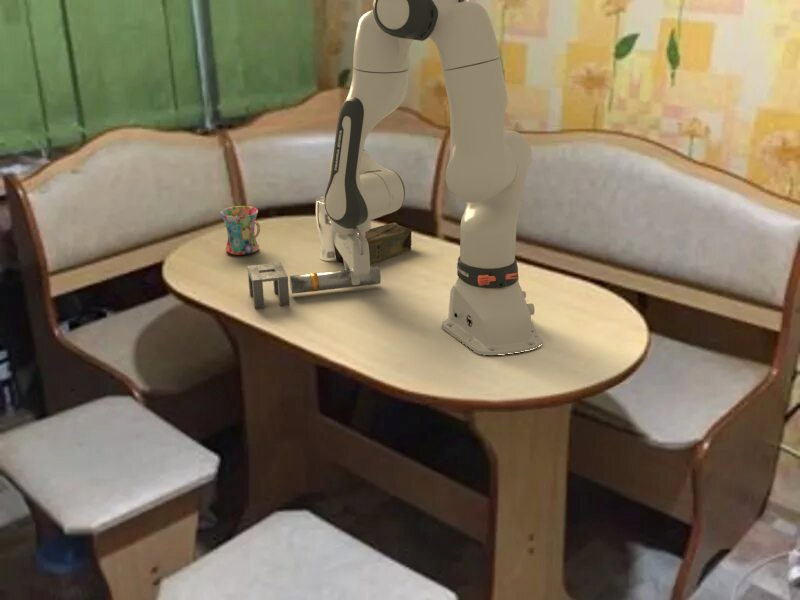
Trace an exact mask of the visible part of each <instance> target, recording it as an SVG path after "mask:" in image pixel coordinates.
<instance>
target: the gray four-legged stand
mask: <svg viewBox="0 0 800 600" xmlns="http://www.w3.org/2000/svg"><path fill="white" fill-rule="evenodd" d="M247 276H248V277H247V278H248V279H247V280H248V290H249V292H248V293H249V296H250V297H253V307H254V310H259V309H265V297H264V296H265V295H264V284H263V283H265V282H273V284H272V285H273V292H274V294H278V304H279V306H280V307H285V306H290V293H289V276H288V274H287V272H286V270H285V269H284V266H283V263H282V262H273V263H272V262H271V263H265V264H263V263H262V264H254V265H247Z"/></svg>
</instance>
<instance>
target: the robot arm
mask: <svg viewBox="0 0 800 600" xmlns="http://www.w3.org/2000/svg"><path fill="white" fill-rule="evenodd" d="M427 39H429V40H431V41H432V42H433V43H434V45H435V46H436V47H437V48H436V49H437V51H438V54H439V59H440V65H441V70H442V74H443V75H442V76H443V80H444V86H445V91H446V96H447V101H448V107H449V118H450V119H449V120H450V123H449V124H450V125H449V126H450V128H449V129H450V138H449V139H450V140H449V141H450V142H449V143H450V144H449V159H448V163H447V167H446V169H445V183H446V186H447V188H448V190H449V191H450V193H451V194H452V195H453V196H454V198H456V199H458V200H459V201H462V202H464V203H466V206H465V209H464V212H463V214H462V217H461V221H460V232H459V233H460V237H459V238H460V239H459V240H460V241H459V243H460V245H459V256H458V258H457V263H456V271H457V272H456V273H457V274H456V275H457V280H456V282H455V283H454V284H453V286H452V287H451V289H450V295H449V305H448V317H447V319H445V320H444V321H442V322H441V328H442V329H443V330H444V331H445V332H446V333H448V335H451V336H452V337H453V338H455V339H456V340H458V342H460V343H461V342H462V343H461V344H463V345H464V344H465V345H466V346H465V345H464V346H465V347H467V346H468V347H469V348H470V349H469V348H468V347H467V348H468V349H469V350H471V349H472V350H473V351H472V350H471V351H472V352H474V353H475V352H476V353H478V354H483V355H482V356H485V354H486V355H498V354H508V353H515V352H521V351H525V350H530V349H533V348H536V347H538V346H539V345H541V344H542V345H543V339H542V338H541V336H540V334H539V332H538V330H537V328H536V327H535V325H534V323H533V322H532V317H531V316H533V315H535V305H534V303H532V302H531V303H527V300H526V297H527V292H526V291H523V290H522V288H521V284H520V283H519V266H518V262H517V261H518V260H517V258H516V244H517V243H516V242H517V227H518V218H519V213H520V209H521V205H522V199H523V196H524V190H525V185H526V179H527V175H528V170H529V167H530V165H531V162H532V159H533V152H532V147H531V144H530V142H529V140H528V139H527V138H526V137H525V136H524V135H523V134H522V133H520V132H518V131H515V130H510V129H509V130H508V129H505V121H506V120H505V116H506V111H507V110H506V109H507V105H508V92H507V87H506V80H505V76H504V71H503V64H502V59H501V54H500V49H499V45H498V40H497V37H496V33H495V30H494V27H493V24H492V21H491V19H490V16H489V14H488V11H487V10H486V8H485V7H484V6H483V5H481V4H479V3H477V2H474V1H465V0H373V2H372V9H371V10H369V11H367V12H365V13H363V14H362V16H361V17H360V18H359V20H358V23H357V27H356V32H355V38H354V45H353V47H354V48H353V58H352V59H353V60H352V61H353V63H352V65H353V66H352V77H351V78H352V79H351V83H350V88H349V91H348V94H347V96H346V99H345V100H344V102H343V103H342V105H341V107H340V110H339V113H338V117H337V118H338V119H337V125H336V131H335V138H334V139H335V140H334V144H333V146H334V147H333V154H332V155H331V159H330V161H329V169H328V171H329V173H328V183H327V186H326V190H325V193H324V196H325V199H324V204H325V209H326V212H327V214H328V216H329V219H330V221H331V230H332V231H333V237H334V243H335V246H336V248H337V250H338V251H339V253H340V254H341V256H342V257H343V261H344V263H343V264H344V270H350V269H351V276H350V278H351V283H352V285H358V284H360V275H364V274H369V272H370V267H371V264H370V257H369V246H368V242H367V240H366V238H365V237H364V236H365V232H367V231H369V230H370V229H372V221H373V220H375V219H378V218H381V217H385V216H387V215H389V214H392V213H395V212H396V211H398V210H400V209H402V208H401V207H402V206H403V205H404V202H405V198H406V188H405V184H404V181H403V179H402V178H401V176H400V174H398V173H397V172H396V171H395V170H393V169H389V168H386V167H384V166H383V165H380V164H379V163H378V162H377V161H375V160H374V159H372V157H371V156H370V155H369V153H368V151H367V150H366V149H364V148H365V142H366V140H367V137H368V135H369V134H370V133H371V131H372V130H373V129H374V127H376V125H378V124H379V123H380V122H382V120H384V119H385V118H386V117H388V116H389V115H390V114H392V113H393V112H395V111H396V110H397V109H398V108H399V107H400V106H401V105H402V103H403V102H404V101H405V99H406V96H407V93H408V92H407V91H408V86H409V79H410V78H409V73H410V72H409V70H410V65H409V64H410V49H411V46H412V43H413V41H419V42H423V41H426V40H427ZM476 353H475V354H476ZM478 354H477V355H478Z"/></svg>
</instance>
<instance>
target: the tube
mask: <svg viewBox="0 0 800 600" xmlns="http://www.w3.org/2000/svg"><path fill="white" fill-rule="evenodd" d="M350 276H351V269H350V270H345V269H342V270H332V271H325V272H312V273H305V274H296V275H294V274H293V275H290V276H289V287H290V292H291V294H293V295H294V294H302V293H313V292H320V291H327V290H328V291H329V290H338V289H346V288H347V289H348V288H353V287H354V288H356V287H363V286H364V287H365V286H373V285H380V284H381V278H382V277H381V276H382V275H381V270H380V268H379V266H370V272H369V274H364V275H360V284H358V285H352V283H351V278H350Z"/></svg>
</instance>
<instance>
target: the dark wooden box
mask: <svg viewBox="0 0 800 600" xmlns="http://www.w3.org/2000/svg"><path fill="white" fill-rule="evenodd" d="M364 237H365V238H366V240H367V242H368V246H369V257H370V265H372V264H375V263H378V262H380V261H383V260H384V261H385V260H387V259H389V258H392V257H396V256H398V254H399V255H400V254H401V253H402V254H404V253H406V252H410V251H411V250H412V229H410V228H407V227H405V226H401V225H399V224H398V223H396V222H391V223H387V224H384V225H379V226H376V227H373V228H372V227H371V229H370V230H369V231H367V232H365V236H364ZM409 250H410V251H409ZM403 252H404V253H403ZM337 260H338V261H337V262H340V263H342V264H344V261H343V257H342V256H341V254H340V253H339V251H338V250H337Z"/></svg>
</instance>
